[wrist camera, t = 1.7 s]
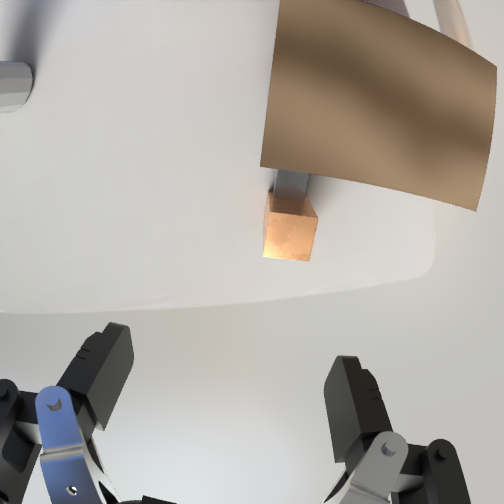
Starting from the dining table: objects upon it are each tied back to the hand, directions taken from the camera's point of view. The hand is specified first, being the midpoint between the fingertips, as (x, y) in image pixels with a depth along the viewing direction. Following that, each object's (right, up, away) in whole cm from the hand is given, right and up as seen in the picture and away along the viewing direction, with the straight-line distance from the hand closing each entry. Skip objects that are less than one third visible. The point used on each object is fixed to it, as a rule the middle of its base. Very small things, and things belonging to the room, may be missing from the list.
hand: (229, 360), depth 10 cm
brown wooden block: (+10, +19, +15) cm, 25 cm away
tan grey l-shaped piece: (+5, +13, +18) cm, 22 cm away
